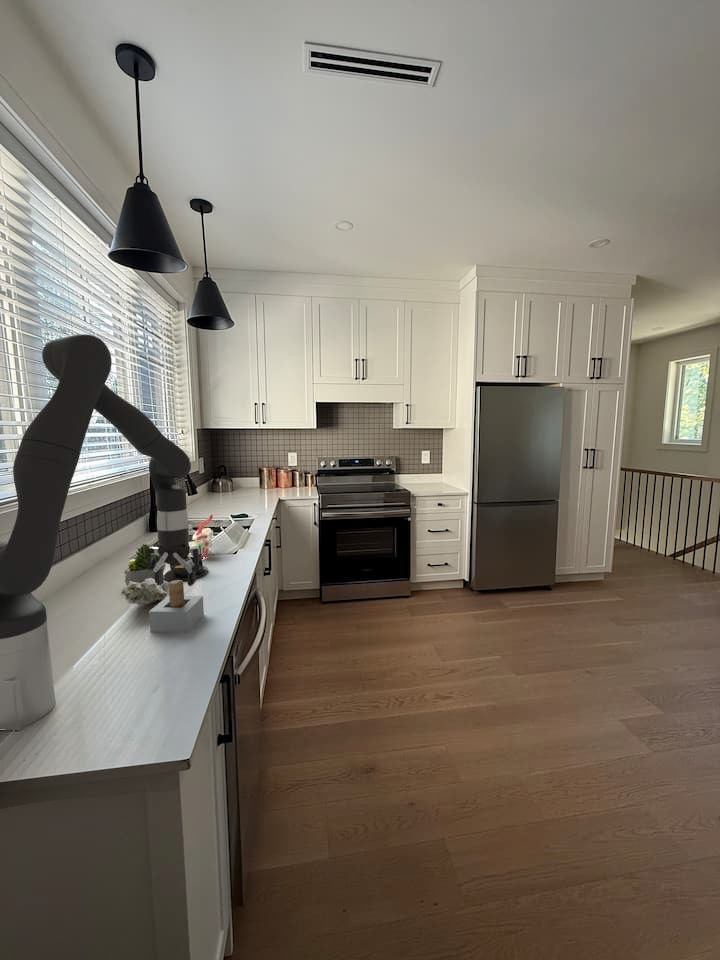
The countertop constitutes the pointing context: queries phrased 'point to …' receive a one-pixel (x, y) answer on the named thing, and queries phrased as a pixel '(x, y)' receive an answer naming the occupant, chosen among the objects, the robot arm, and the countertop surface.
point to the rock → (144, 592)
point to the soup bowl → (182, 572)
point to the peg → (176, 594)
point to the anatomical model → (202, 537)
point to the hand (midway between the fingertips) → (175, 584)
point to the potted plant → (140, 567)
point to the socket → (176, 615)
